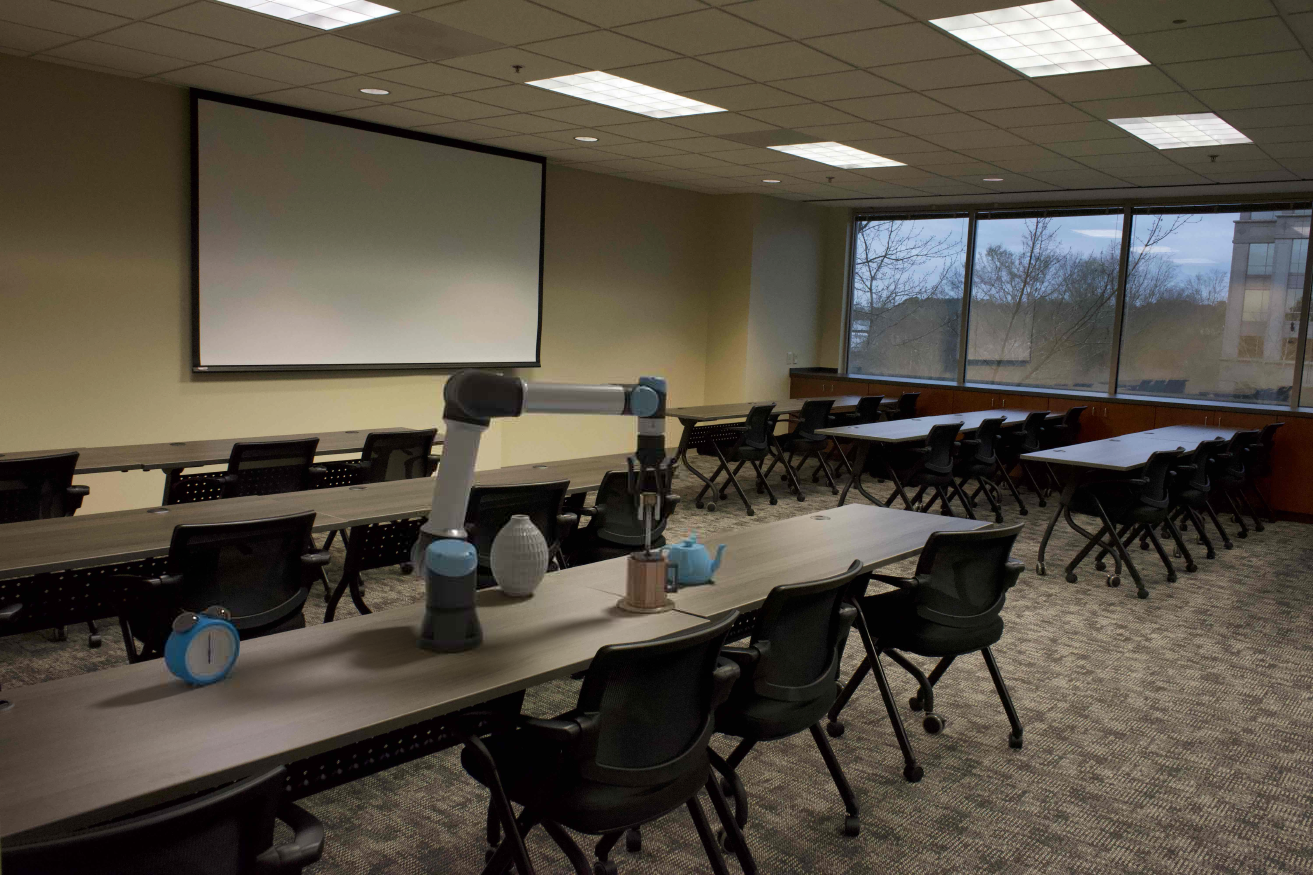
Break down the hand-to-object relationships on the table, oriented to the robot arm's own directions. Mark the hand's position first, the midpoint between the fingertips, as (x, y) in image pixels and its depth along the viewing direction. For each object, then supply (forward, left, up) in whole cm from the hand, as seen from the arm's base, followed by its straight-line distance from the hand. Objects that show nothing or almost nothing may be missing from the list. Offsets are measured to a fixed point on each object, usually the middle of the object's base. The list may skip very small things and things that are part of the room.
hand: (648, 518), depth 253 cm
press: (0, 0, -24) cm, 24 cm away
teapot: (+19, +27, -24) cm, 41 cm away
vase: (-34, +15, -24) cm, 44 cm away
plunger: (0, 0, -13) cm, 13 cm away
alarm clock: (-101, -47, -24) cm, 114 cm away
